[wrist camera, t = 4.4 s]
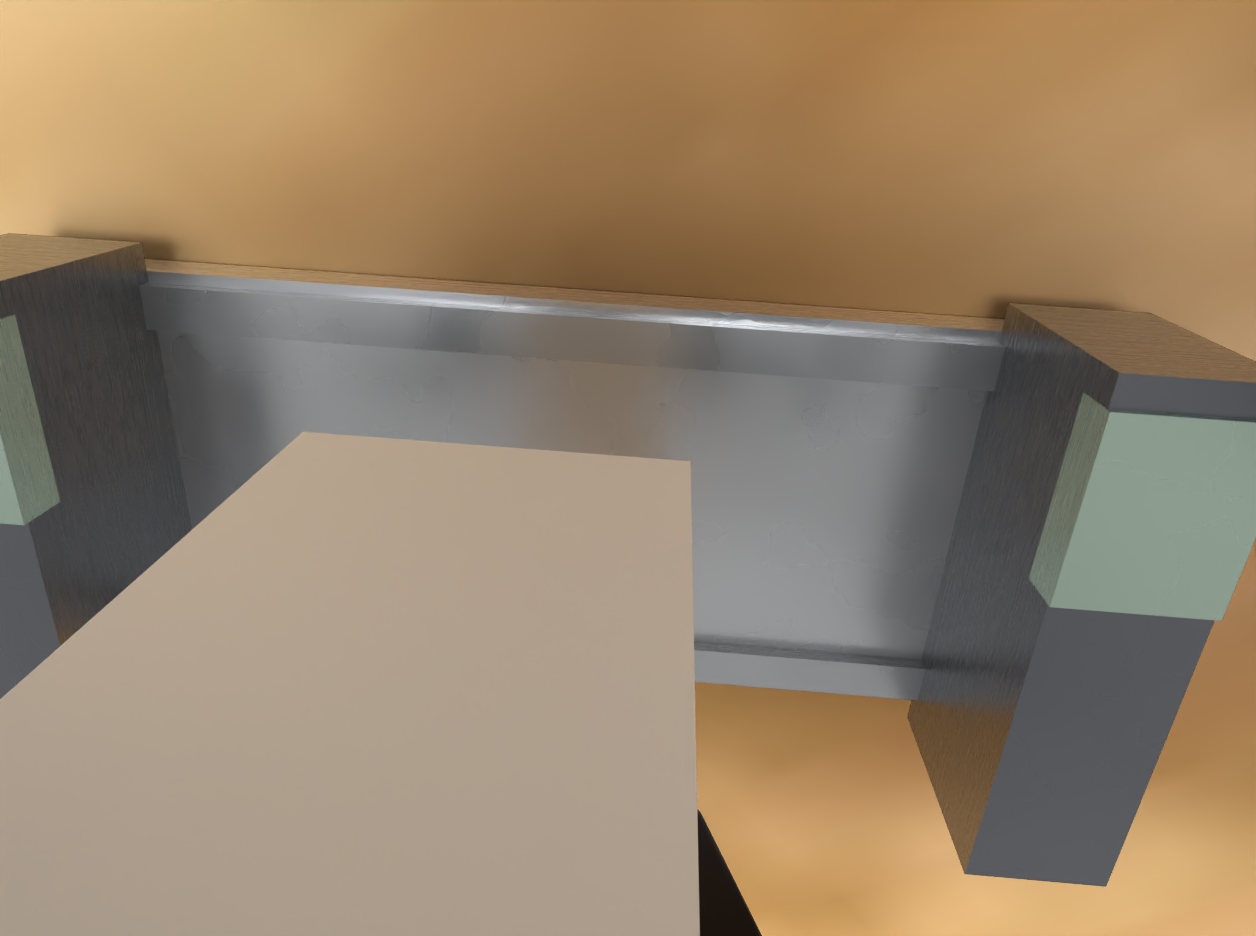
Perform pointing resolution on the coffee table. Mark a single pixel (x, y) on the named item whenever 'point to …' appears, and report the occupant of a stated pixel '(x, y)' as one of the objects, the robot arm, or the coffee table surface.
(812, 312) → the rail
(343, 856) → the module
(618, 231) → the coffee table surface
